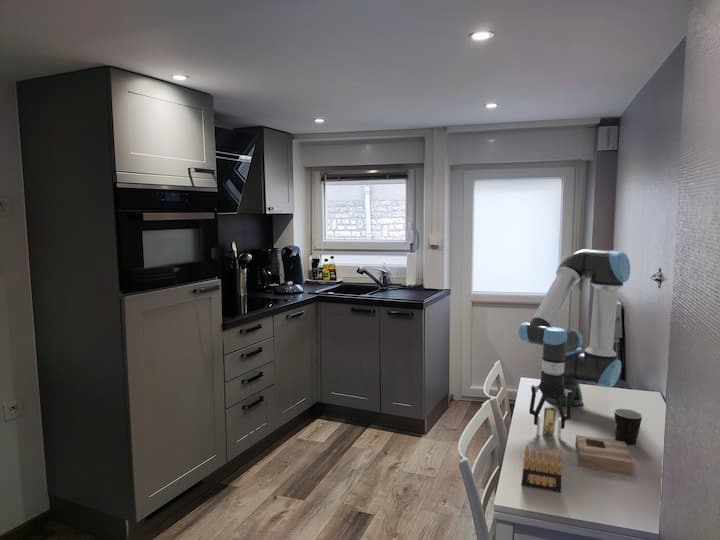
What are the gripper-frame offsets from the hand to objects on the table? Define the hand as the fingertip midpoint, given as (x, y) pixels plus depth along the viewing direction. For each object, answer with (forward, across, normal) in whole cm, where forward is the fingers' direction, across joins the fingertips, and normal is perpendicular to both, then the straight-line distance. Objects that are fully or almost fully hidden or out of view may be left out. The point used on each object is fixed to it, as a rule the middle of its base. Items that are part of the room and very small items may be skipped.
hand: (548, 435), depth 181 cm
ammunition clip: (+1, -3, -38) cm, 38 cm away
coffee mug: (0, +25, +4) cm, 25 cm away
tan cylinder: (0, 0, 0) cm, 0 cm away
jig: (0, +16, -13) cm, 20 cm away
